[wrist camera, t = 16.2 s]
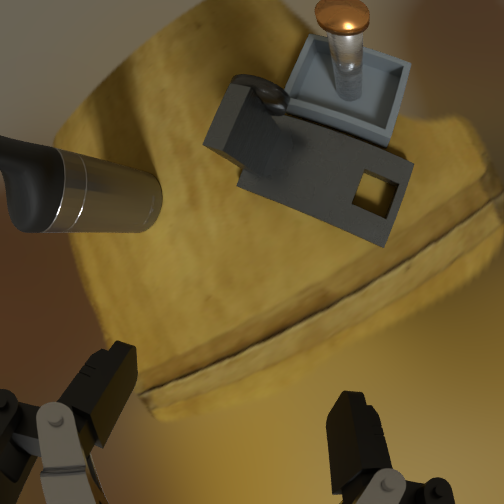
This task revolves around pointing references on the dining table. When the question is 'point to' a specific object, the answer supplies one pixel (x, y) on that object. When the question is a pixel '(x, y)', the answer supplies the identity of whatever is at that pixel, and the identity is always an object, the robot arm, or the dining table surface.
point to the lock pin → (345, 42)
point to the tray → (338, 110)
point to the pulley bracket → (302, 159)
